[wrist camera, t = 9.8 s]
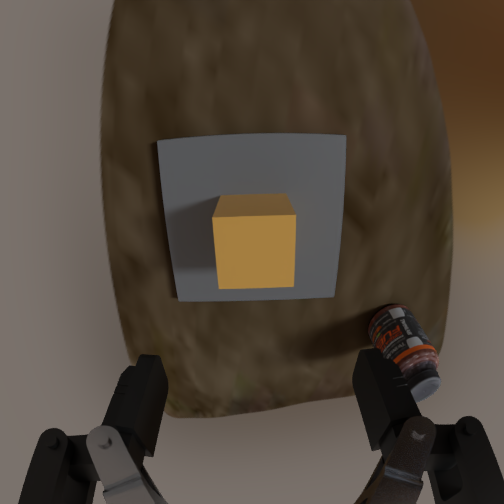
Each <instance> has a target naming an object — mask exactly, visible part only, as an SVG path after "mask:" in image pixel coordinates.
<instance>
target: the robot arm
mask: <svg viewBox="0 0 504 504" xmlns="http://www.w3.org/2000/svg"><path fill="white" fill-rule="evenodd" d="M352 383H353V388H354V392H355V395H356V398H357V401H358V405H359V408H360V411H361V414H362V418H363V422H364V425H365V428H366V432H367V435H368V439H369V442H370V446H371V450H372V451H374V450H379V449H381V452H382V456H381V458H380V460H379V462H378V464H377V466H376V468H375V470H374V472H373V474H372V475H371V477H370V479H369V481H368V483H367V485H366V486H365V488H364V490H363V492H362V493H361V495H360V496H359V497H358V499H357V500H356V502H355V503H354V504H416V502H417V500H418V497H419V495H420V493H421V490H422V488H423V481H422V480H421V478H422V475H423V472H424V471H427V472H428V475H429V479H430V483H431V487H432V491H433V496H434V500H435V504H504V480H503V477H502V474H501V471H500V468H499V465H498V463H497V460H496V457H495V454H494V452H493V450H492V447H491V444H490V442H489V440H488V437H487V435H486V432H485V430H484V428H483V425H482V424H481V422H480V421H479V420H478V419H476V418H475V417H472V416H466V417H462V418H461V419H459V420H458V422H457V423H456V424H452V425H451V424H450V425H438V424H434V423H433V422H432V421H431V420H430V419H428V418H427V417H424V416H422V415H421V413H420V411H419V409H418V407H417V404H416V402H415V400H414V397H413V395H412V393H411V391H410V389H409V387H408V386H407V382H406V380H405V378H404V377H403V374H402V372H401V370H400V367H399V366H398V365H397V364H396V363H395V362H394V361H393V360H392V359H391V358H389V359H384V357H383V355H382V352H381V350H380V349H379V348H372V349H364V350H360V352H359V355H358V358H357V362H356V365H355V369H354V372H353V377H352ZM167 394H168V379H167V376H166V373H165V370H164V367H163V364H162V361H161V358H160V356H159V355H145V354H141V355H140V356H139V358H138V361H137V364H136V366H129V367H128V368H127V369H126V370H125V371H124V372H123V373H122V374H121V376H120V378H119V381H118V384H117V387H116V389H115V391H114V394H113V396H112V399H111V401H110V404H109V407H108V409H107V412H106V415H105V417H104V420H103V422H102V425H101V426H98V427H96V428H94V429H93V430H91V431H90V433H89V434H87V435H77V436H67V435H66V434H65V433H64V432H63V431H62V430H60V429H57V428H51V429H48V430H46V431H44V432H43V433H42V434H41V436H40V438H39V441H38V443H37V446H36V449H35V451H34V454H33V457H32V460H31V463H30V466H29V469H28V472H27V475H26V478H25V482H24V485H23V488H22V492H21V495H20V499H19V503H18V504H92V503H93V497H94V492H95V487H96V483H97V481H101V482H102V484H103V486H104V491H103V496H104V499H105V501H106V503H107V504H168V503H167V502H166V501H165V499H164V498H163V496H162V495H161V493H160V492H159V490H158V489H157V487H156V485H155V484H154V482H153V481H152V479H151V477H150V476H149V474H148V472H147V471H146V469H145V467H144V466H143V460H144V456H148V457H153V456H154V451H155V446H156V442H157V437H158V433H159V428H160V424H161V420H162V415H163V411H164V407H165V403H166V399H167Z"/></svg>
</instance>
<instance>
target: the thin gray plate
mask: <svg viewBox="0 0 504 504" xmlns="http://www.w3.org/2000/svg"><path fill="white" fill-rule="evenodd" d="M157 145H158V157H159V167H160V177H161V187H162V196H163V204H164V212H165V220H166V227H167V234H168V241H169V248H170V254H171V260H172V266H173V272H174V278H175V284H176V290H177V295H178V300H179V301H251V300H281V299H304V298H324V297H334V294H335V286H336V278H337V269H338V260H339V251H340V240H341V229H342V217H343V203H344V186H345V164H346V135H338V134H316V133H247V134H225V135H209V136H196V137H185V138H175V139H165V140H159V141H157ZM279 193H286V194H287V196H288V199H289V201H290V203H291V205H292V207H293V209H294V211H295V214H296V242H295V272H294V287H276V288H245V289H219V286H218V276H217V266H216V255H215V244H214V233H213V221H212V217H213V214H214V212H215V209H216V206H217V204H218V201H219V198H220V196H221V195H243V194H279Z"/></svg>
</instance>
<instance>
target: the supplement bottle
mask: <svg viewBox="0 0 504 504" xmlns="http://www.w3.org/2000/svg"><path fill="white" fill-rule="evenodd" d="M368 333H369V336H370V339H371V341H372V344H373V346H374V348H379V349H380V350H381V352H382V355H383V357H384V359H389V358H391V359H392V360H393V361H394V362H395V363H396V364H397V365H398V366H399V367H400V370H401V372H402V374H403V377H404V378H405V380H406V382H407V386H408V387H409V389H410V391H411V393H412V395H413V397H414V400H415V402H420V401H422V400H425V399H427V398H428V397H430V396H431V395H432V394H434V392H436V391H437V389H438V388H439V386H440V384H441V379H440V377H439V375H438V372H437V371H436V370H437V368H438V364H439V358H438V355H437V352H436V351H435V349H434V347H433V345H432V344H431V342H430V341H429V339H428V337H427V336H426V334H425V333H424V331H423V329H422V328H421V326H420V325H419V323H418V322H417V320H416V319H415V317H414V316H413V314H412V313H411V311H410V310H409V309H408V308H407V307H406V306H404V305H400V304H395V305H390V306H387V307H385V308H383V309H381V310H380V311H379V312H378V313H376V314H375V316H374V317H373V318H372V320H371V322H370V324H369V328H368Z"/></svg>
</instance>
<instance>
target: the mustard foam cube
mask: <svg viewBox="0 0 504 504" xmlns="http://www.w3.org/2000/svg"><path fill="white" fill-rule="evenodd" d="M212 221H213V233H214V244H215V255H216V266H217V276H218V286H219V289H245V288H276V287H294V272H295V242H296V214H295V211H294V209H293V207H292V205H291V203H290V201H289V199H288V196H287V194H286V193H279V194H243V195H221V196H220V198H219V201H218V204H217V206H216V209H215V212H214V214H213V217H212Z"/></svg>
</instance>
